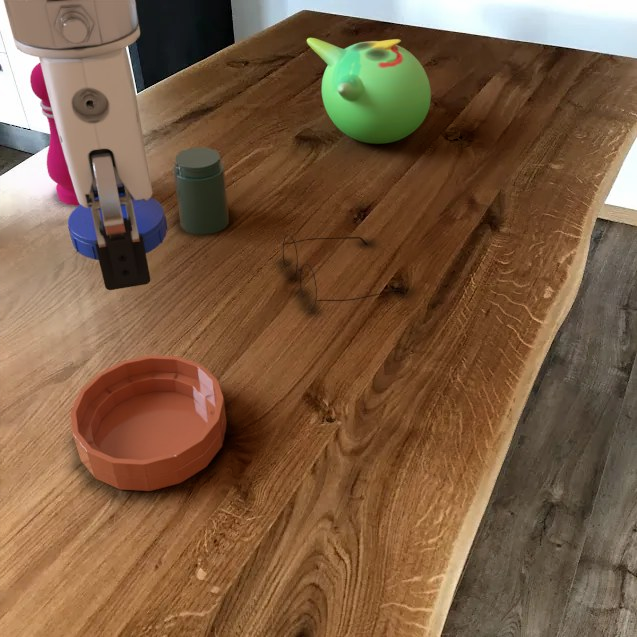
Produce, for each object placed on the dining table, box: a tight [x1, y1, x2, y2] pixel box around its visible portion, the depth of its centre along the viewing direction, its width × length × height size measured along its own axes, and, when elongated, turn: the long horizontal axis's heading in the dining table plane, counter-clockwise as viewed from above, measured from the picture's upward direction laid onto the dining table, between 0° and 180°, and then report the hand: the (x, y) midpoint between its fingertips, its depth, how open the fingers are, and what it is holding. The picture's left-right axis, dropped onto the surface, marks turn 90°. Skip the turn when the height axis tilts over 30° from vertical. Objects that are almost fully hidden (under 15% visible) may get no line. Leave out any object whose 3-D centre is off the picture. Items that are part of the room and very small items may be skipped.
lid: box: [67, 193, 169, 261], centre depth 54 cm, size 7×7×2 cm
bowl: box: [69, 354, 228, 492], centre depth 65 cm, size 13×13×4 cm
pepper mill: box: [29, 62, 80, 206], centre depth 93 cm, size 7×7×20 cm
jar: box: [172, 146, 230, 235], centre depth 91 cm, size 6×6×9 cm
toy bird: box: [306, 37, 432, 145], centre depth 109 cm, size 18×17×15 cm
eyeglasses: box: [282, 234, 405, 310], centre depth 83 cm, size 11×13×5 cm
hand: (123, 254), depth 56 cm, fingers closed on lid, 6 cm apart
